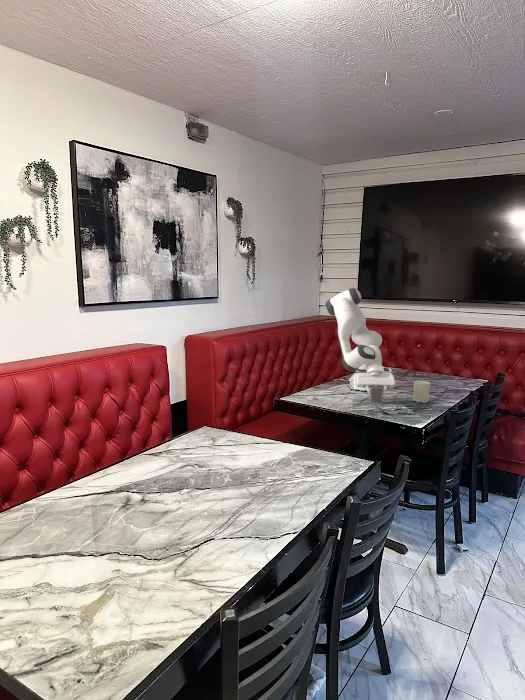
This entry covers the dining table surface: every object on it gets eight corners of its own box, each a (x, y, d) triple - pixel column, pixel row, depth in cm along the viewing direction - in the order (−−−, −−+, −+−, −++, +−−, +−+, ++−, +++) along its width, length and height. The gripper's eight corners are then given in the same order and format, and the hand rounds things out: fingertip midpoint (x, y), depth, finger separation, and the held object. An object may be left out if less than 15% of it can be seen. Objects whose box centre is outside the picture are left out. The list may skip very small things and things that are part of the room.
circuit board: (375, 406, 260) (376, 400, 259) (400, 405, 262) (401, 400, 261) (388, 414, 243) (388, 409, 243) (414, 414, 245) (415, 408, 245)
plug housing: (370, 400, 247) (370, 382, 245) (380, 400, 246) (381, 382, 245) (370, 402, 243) (371, 384, 241) (381, 402, 242) (382, 384, 241)
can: (409, 400, 273) (410, 380, 271) (420, 398, 277) (422, 379, 275) (420, 404, 265) (421, 383, 263) (432, 402, 269) (433, 382, 267)
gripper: (355, 368, 250) (357, 390, 242) (394, 369, 248) (396, 391, 240) (354, 374, 255) (356, 396, 247) (392, 375, 253) (394, 397, 245)
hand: (376, 394), depth 243 cm, fingers closed on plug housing, 6 cm apart
